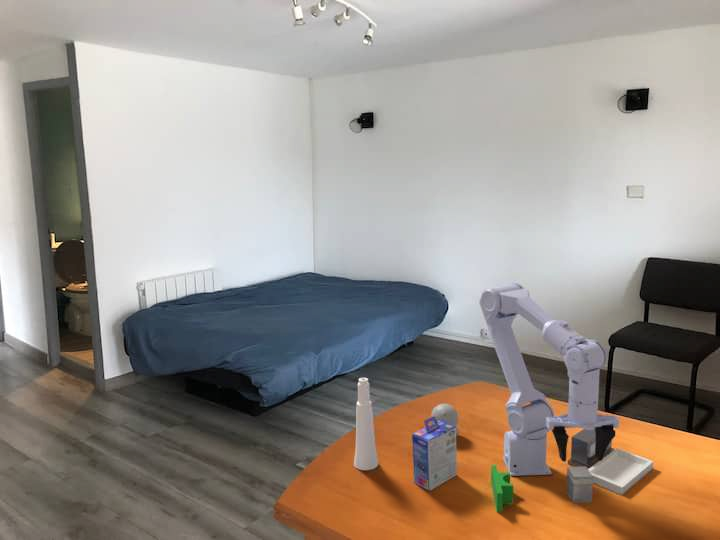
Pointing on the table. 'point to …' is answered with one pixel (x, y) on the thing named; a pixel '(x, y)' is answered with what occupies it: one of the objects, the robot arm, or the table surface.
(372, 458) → the cosmetic bottle
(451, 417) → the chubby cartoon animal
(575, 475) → the block
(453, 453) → the ink cartridge box
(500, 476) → the pipe clamp
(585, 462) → the mounted housing
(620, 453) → the tray
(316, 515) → the table surface
